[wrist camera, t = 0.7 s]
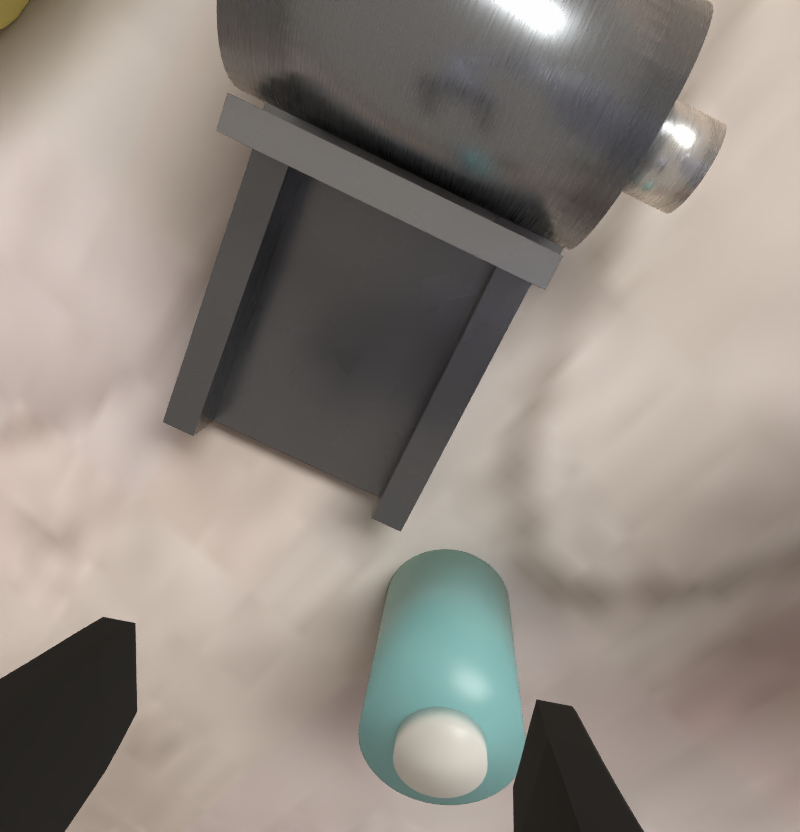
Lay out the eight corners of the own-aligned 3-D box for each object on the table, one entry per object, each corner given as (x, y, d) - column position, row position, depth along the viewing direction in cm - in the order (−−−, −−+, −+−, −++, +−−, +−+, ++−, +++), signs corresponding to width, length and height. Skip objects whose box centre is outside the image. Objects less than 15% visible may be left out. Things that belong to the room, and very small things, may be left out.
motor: (715, 58, 15) (868, -43, 9) (454, 524, 20) (450, 643, 14) (352, -126, 15) (281, -350, 9) (178, 396, 19) (61, 466, 14)
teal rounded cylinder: (531, 582, 20) (561, 739, 14) (474, 670, 22) (477, 849, 16) (418, 529, 20) (397, 665, 14) (368, 622, 22) (328, 783, 15)
